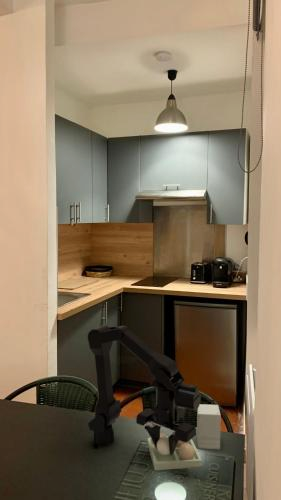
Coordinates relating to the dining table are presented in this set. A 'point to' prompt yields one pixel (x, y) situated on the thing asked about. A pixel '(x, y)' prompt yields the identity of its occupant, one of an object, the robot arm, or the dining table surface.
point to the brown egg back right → (181, 443)
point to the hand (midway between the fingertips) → (164, 451)
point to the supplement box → (208, 426)
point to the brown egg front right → (186, 452)
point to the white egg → (163, 446)
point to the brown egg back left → (161, 436)
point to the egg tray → (172, 458)
